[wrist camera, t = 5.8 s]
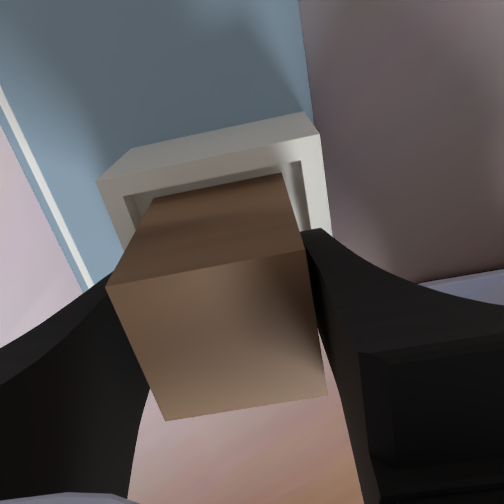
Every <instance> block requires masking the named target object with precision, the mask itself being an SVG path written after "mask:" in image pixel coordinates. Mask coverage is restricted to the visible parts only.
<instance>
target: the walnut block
mask: <svg viewBox="0 0 504 504" xmlns="http://www.w3.org/2000/svg"><path fill="white" fill-rule="evenodd" d="M105 288H106V291H107V293H108V295H109V297H110V300H111V302H112V304H113V306H114V308H115V311H116V313H117V315H118V317H119V320H120V322H121V324H122V326H123V329H124V331H125V333H126V335H127V337H128V340H129V342H130V344H131V346H132V349H133V351H134V353H135V355H136V357H137V360H138V362H139V364H140V366H141V369H142V371H143V373H144V375H145V377H146V380H147V382H148V384H149V386H150V389H151V391H152V393H153V395H154V397H155V400H156V402H157V404H158V406H159V409H160V411H161V413H162V415H163V417H164V420H165V421H170V420H177V419H183V418H189V417H195V416H201V415H208V414H214V413H220V412H226V411H233V410H239V409H245V408H251V407H258V406H264V405H270V404H276V403H283V402H289V401H295V400H301V399H308V398H314V397H320V396H326V395H328V393H327V387H326V380H325V374H324V367H323V361H322V355H321V348H320V342H319V335H318V329H317V322H316V316H315V309H314V303H313V297H312V290H311V284H310V277H309V271H308V264H307V258H306V252H305V247H304V244H303V241H302V237H301V234H300V231H299V228H298V224H297V221H296V218H295V215H294V211H293V208H292V205H291V201H290V198H289V195H288V192H287V188H286V185H285V182H284V179H283V175H282V172H280V173H275V174H270V175H265V176H260V177H255V178H250V179H245V180H240V181H235V182H230V183H225V184H220V185H216V186H211V187H206V188H201V189H196V190H191V191H186V192H181V193H176V194H171V195H166V196H161V197H156V198H153V200H152V202H151V204H150V206H149V208H148V209H147V211H146V213H145V215H144V217H143V218H142V220H141V222H140V224H139V226H138V227H137V229H136V231H135V233H134V235H133V237H132V238H131V240H130V242H129V244H128V246H127V247H126V249H125V251H124V253H123V255H122V257H121V258H120V260H119V262H118V264H117V266H116V267H115V269H114V271H113V273H112V275H111V277H110V278H109V280H108V282H107V284H106V286H105Z"/></svg>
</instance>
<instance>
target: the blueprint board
mask: <svg viewBox="0 0 504 504" xmlns="http://www.w3.org/2000/svg"><path fill="white" fill-rule="evenodd" d="M0 125H1V127H2V129H3V131H4V133H5V135H6V137H7V139H8V141H9V143H10V145H11V147H12V149H13V151H14V153H15V155H16V157H17V159H18V161H19V163H20V165H21V168H22V170H23V172H24V174H25V176H26V178H27V180H28V182H29V184H30V186H31V188H32V190H33V192H34V194H35V196H36V198H37V200H38V202H39V204H40V206H41V208H42V210H43V212H44V214H45V216H46V218H47V220H48V222H49V224H50V226H51V228H52V231H53V233H54V235H55V237H56V239H57V241H58V243H59V245H60V247H61V249H62V251H63V253H64V255H65V257H66V259H67V261H68V263H69V265H70V267H71V269H72V271H73V273H74V275H75V277H76V279H77V281H78V283H79V285H80V287H81V289H82V291H83V293H84V292H86V291H87V290H88V289H90V288H91V287H92V286H93V285H95V284H96V283H97V282H99V281H100V280H101V279H103V278H104V277H105V276H107V275H108V274H110V273H111V272H112V271H114V269H115V267H116V266H117V264H118V262H119V260H120V258H121V257H122V255H123V253H124V251H125V249H126V247H127V246H128V244H129V242H130V240H131V238H132V237H133V235H134V233H135V231H136V229H137V227H138V226H139V224H140V222H141V220H142V218H143V217H144V215H145V213H146V211H147V209H148V208H149V206H150V204H151V202H152V200H153V198H156V197H161V196H166V195H171V194H176V193H181V192H186V191H191V190H196V189H201V188H206V187H211V186H216V185H220V184H225V183H230V182H235V181H240V180H245V179H250V178H255V177H260V176H265V175H270V174H275V173H280V172H282V175H283V179H284V182H285V185H286V188H287V192H288V195H289V198H290V201H291V205H292V208H293V211H294V215H295V218H296V221H297V224H298V228H299V231H306V230H311V229H316V228H322V229H323V230H325V231H326V232H327V233H329V234H330V235H331V236H332V228H331V220H330V212H329V204H328V196H327V188H326V180H325V172H324V164H323V156H322V148H321V140H320V134H319V132H318V131H317V129H316V128H315V126H314V119H313V111H312V104H311V96H310V88H309V81H308V73H307V65H306V57H305V50H304V42H303V34H302V27H301V19H300V11H299V4H298V0H0ZM332 237H333V236H332Z"/></svg>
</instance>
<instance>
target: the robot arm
mask: <svg viewBox="0 0 504 504" xmlns="http://www.w3.org/2000/svg"><path fill="white" fill-rule="evenodd" d="M300 234H301V237H302V241H303V244H304V247H305V252H306V258H307V264H308V271H309V277H310V284H311V290H312V297H313V303H314V309H315V316H316V322H317V328H318V331H319V334H320V337H321V340H322V343H323V346H324V349H325V351H326V354H327V357H328V360H329V363H330V366H331V369H332V372H333V375H334V378H335V381H336V384H337V388H338V391H339V394H340V398H341V402H342V406H343V411H344V415H345V419H346V424H347V428H348V433H349V437H350V442H351V446H352V450H353V455H354V459H355V464H356V468H357V473H358V477H359V482H360V486H361V491H362V495H363V500H364V504H504V269H502V270H496V271H490V272H484V273H478V274H472V275H466V276H460V277H454V278H448V279H442V280H436V281H430V282H424V283H420V284H415V283H413V282H410V281H407V280H405V279H403V278H400V277H398V276H396V275H393V274H391V273H389V272H387V271H385V270H383V269H381V268H379V267H377V266H375V265H373V264H371V263H370V262H368V261H366V260H364V259H363V258H361V257H359V256H358V255H356V254H355V253H353V252H352V251H351V250H349V249H348V248H346V247H345V246H344V245H342V244H341V243H340V242H338V241H337V240H336V239H335V238H333V237H332V236H331V235H330V234H329V233H327V232H326V231H325V230H323V229H322V228H316V229H311V230H306V231H300ZM112 273H113V271H112V272H111V273H110V274H108V275H107V276H105V277H104V278H103V279H101V280H100V281H99V282H97V283H96V284H95V285H93V286H92V287H91V288H90V289H88V290H87V291H86V292H84V293H83V294H82V295H80V296H79V297H78V298H76V299H75V300H74V301H72V302H71V303H69V304H68V305H67V306H65V307H64V308H62V309H61V310H60V311H58V312H57V313H55V314H54V315H53V316H51V317H50V318H48V319H47V320H46V321H44V322H43V323H41V324H40V325H38V326H37V327H35V328H33V329H32V330H30V331H29V332H27V333H26V334H24V335H22V336H20V337H19V338H17V339H15V340H14V341H12V342H10V343H9V344H7V345H5V346H4V347H2V348H0V504H139V503H137V502H134V501H131V500H128V499H127V496H128V489H129V483H130V476H131V469H132V463H133V457H134V452H135V446H136V441H137V435H138V430H139V425H140V421H141V417H142V413H143V410H144V407H145V403H146V400H147V397H148V393H149V390H150V386H149V384H148V382H147V380H146V377H145V375H144V373H143V371H142V369H141V366H140V364H139V362H138V360H137V357H136V355H135V353H134V351H133V349H132V346H131V344H130V342H129V340H128V337H127V335H126V333H125V331H124V329H123V326H122V324H121V322H120V320H119V317H118V315H117V313H116V311H115V308H114V306H113V304H112V302H111V300H110V297H109V295H108V293H107V291H106V288H105V286H106V284H107V282H108V280H109V278H110V277H111V275H112Z"/></svg>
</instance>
